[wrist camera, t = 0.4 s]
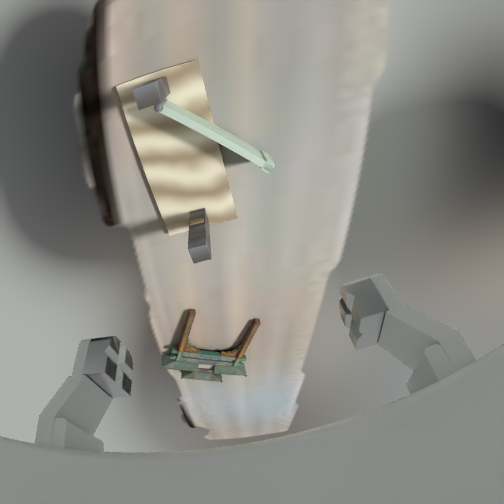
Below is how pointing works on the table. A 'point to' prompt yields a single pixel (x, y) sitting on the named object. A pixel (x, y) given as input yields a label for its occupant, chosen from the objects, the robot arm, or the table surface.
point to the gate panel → (215, 134)
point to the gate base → (179, 154)
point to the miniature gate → (207, 356)
